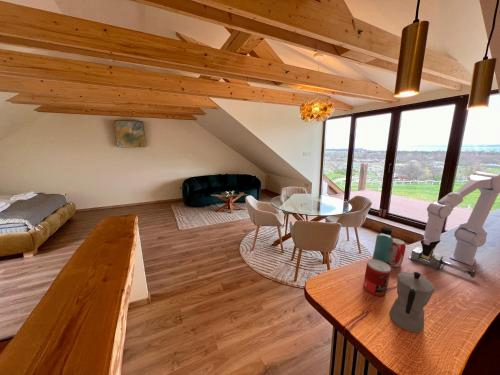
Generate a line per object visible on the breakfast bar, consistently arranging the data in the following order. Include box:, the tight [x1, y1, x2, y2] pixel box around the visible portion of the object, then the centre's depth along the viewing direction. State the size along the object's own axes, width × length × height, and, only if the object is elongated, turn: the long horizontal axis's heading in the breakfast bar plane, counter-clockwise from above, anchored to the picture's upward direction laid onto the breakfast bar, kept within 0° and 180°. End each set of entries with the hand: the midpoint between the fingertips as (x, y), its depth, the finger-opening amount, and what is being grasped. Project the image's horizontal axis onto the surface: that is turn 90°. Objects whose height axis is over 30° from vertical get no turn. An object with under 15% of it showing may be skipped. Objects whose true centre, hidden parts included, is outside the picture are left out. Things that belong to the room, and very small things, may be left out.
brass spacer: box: [421, 248, 435, 260], centre depth 102 cm, size 3×5×5 cm, turn 127°
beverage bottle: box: [372, 226, 393, 264], centre depth 94 cm, size 6×7×20 cm
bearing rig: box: [408, 245, 444, 271], centre depth 103 cm, size 12×8×5 cm, turn 37°
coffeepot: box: [389, 271, 436, 334], centre depth 66 cm, size 15×9×18 cm, turn 137°
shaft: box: [439, 259, 477, 278], centre depth 95 cm, size 14×3×3 cm, turn 37°
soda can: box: [388, 237, 406, 268], centre depth 99 cm, size 7×7×12 cm
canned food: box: [363, 259, 392, 297], centre depth 82 cm, size 8×8×11 cm
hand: (427, 253), depth 102 cm, fingers closed on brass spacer, 5 cm apart
